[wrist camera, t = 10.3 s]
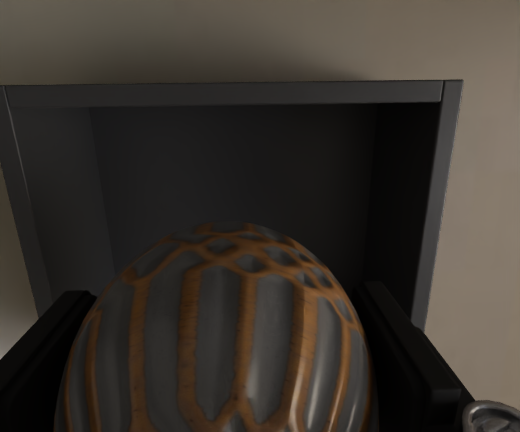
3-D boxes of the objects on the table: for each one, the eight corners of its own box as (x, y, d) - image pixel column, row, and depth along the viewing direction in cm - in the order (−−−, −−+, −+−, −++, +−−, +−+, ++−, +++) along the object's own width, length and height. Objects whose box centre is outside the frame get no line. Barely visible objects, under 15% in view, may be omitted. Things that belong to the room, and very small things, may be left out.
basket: (389, 85, 18) (465, 79, 11) (367, 316, 22) (413, 402, 16) (76, 89, 17) (-20, 85, 11) (115, 324, 21) (62, 415, 15)
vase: (98, 332, 12) (-205, 812, 4) (177, 155, 11) (-75, 366, 2) (273, 398, 14) (315, 871, 5) (370, 250, 12) (670, 615, 3)
